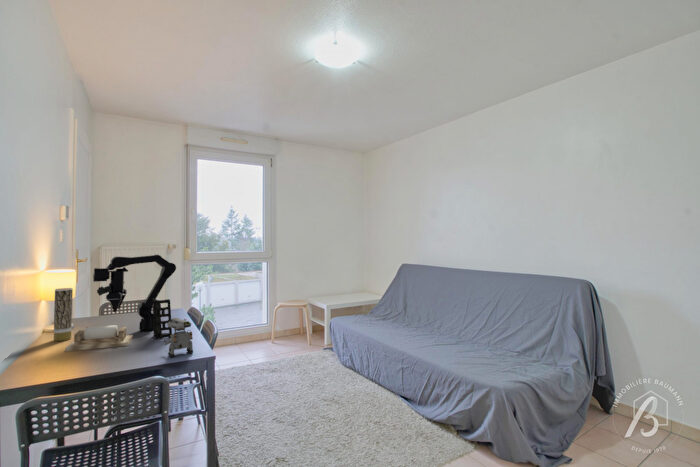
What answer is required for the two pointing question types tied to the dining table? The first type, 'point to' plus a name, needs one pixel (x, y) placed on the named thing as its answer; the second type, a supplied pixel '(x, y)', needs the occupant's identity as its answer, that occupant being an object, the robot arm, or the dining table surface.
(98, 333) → the paper roll
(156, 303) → the holder
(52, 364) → the dining table surface
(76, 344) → the roll cradle
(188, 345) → the figurine
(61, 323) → the bark textured pillar
